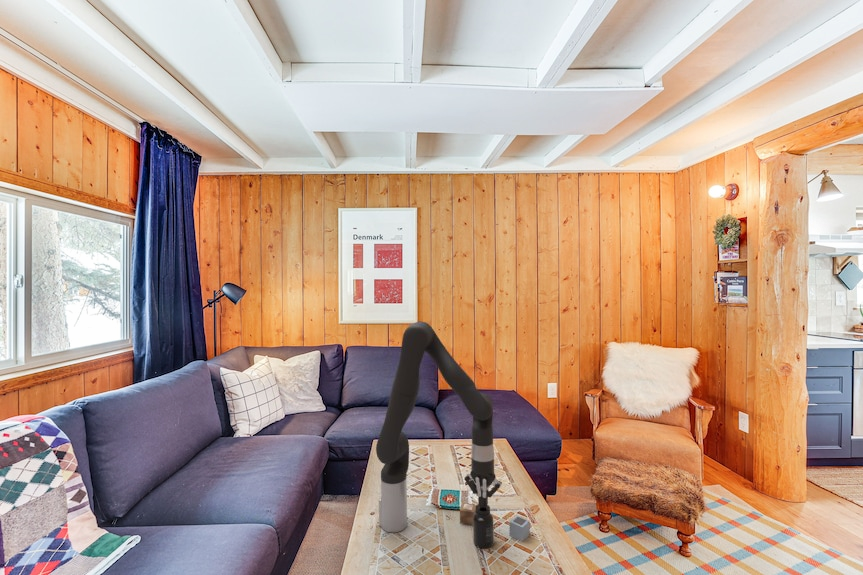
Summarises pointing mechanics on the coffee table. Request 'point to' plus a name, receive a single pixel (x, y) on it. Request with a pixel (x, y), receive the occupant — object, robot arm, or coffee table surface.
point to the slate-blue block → (519, 528)
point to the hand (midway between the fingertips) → (483, 506)
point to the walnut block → (467, 513)
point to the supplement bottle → (483, 527)
